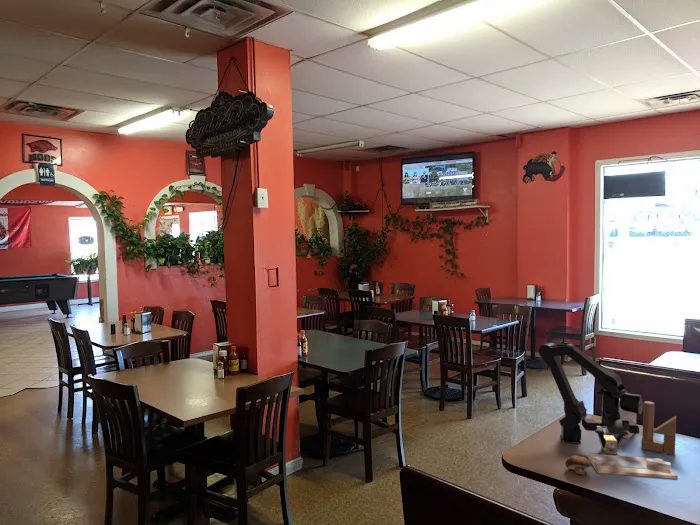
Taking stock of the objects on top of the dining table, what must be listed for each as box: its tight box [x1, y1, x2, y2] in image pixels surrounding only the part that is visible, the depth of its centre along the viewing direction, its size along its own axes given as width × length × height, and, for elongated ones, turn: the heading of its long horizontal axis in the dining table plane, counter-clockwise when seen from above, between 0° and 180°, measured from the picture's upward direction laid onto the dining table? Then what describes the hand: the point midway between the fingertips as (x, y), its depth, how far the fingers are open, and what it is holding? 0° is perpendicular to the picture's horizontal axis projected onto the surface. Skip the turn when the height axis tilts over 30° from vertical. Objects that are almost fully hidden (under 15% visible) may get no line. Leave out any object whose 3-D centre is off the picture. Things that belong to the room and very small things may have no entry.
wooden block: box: [640, 400, 677, 457], centre depth 193 cm, size 4×11×18 cm, turn 55°
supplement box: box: [605, 399, 637, 440], centre depth 210 cm, size 9×9×15 cm
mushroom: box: [565, 455, 592, 476], centre depth 177 cm, size 8×8×6 cm
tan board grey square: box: [586, 453, 678, 480], centre depth 181 cm, size 25×13×3 cm, turn 80°
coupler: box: [600, 434, 618, 455], centre depth 194 cm, size 7×4×5 cm, turn 170°
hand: (609, 448), depth 194 cm, fingers closed on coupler, 4 cm apart
